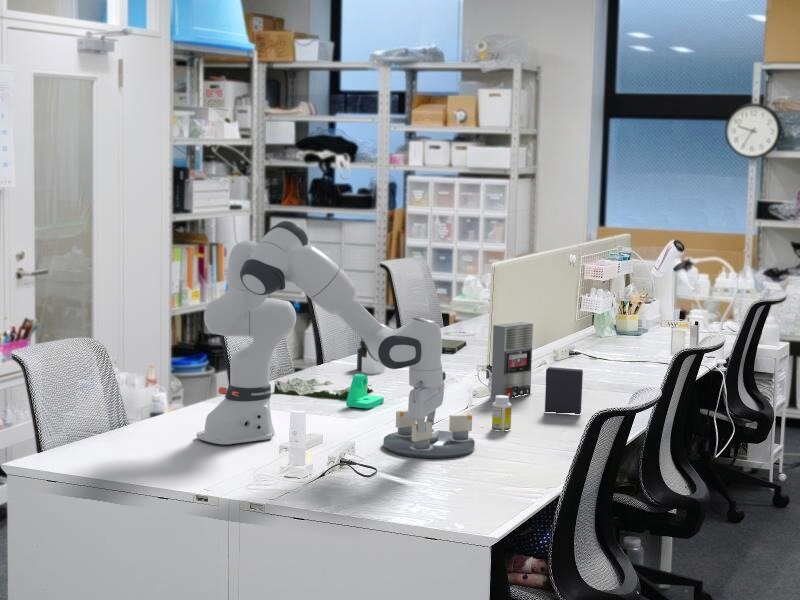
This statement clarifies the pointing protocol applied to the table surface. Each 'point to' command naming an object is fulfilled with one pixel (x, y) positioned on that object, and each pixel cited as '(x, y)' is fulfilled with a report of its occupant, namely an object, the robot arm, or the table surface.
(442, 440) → the tribrach disc
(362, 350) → the supplement bottle
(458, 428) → the knob right
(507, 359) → the cassette tape recorder
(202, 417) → the table surface
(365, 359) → the white cylinder
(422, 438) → the knob left
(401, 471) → the table surface
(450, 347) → the network switch
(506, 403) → the supplement bottle
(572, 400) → the calculator
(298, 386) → the topographic map model
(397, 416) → the cream block orange corner
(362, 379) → the camera mount
